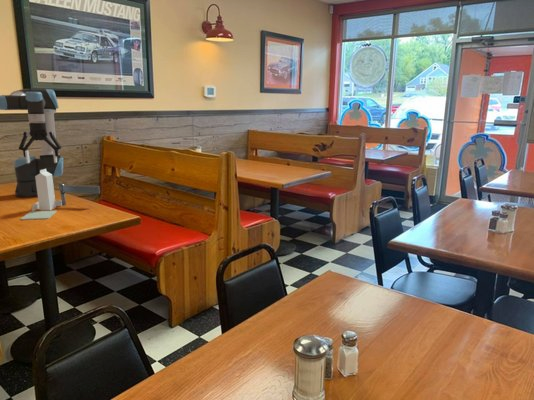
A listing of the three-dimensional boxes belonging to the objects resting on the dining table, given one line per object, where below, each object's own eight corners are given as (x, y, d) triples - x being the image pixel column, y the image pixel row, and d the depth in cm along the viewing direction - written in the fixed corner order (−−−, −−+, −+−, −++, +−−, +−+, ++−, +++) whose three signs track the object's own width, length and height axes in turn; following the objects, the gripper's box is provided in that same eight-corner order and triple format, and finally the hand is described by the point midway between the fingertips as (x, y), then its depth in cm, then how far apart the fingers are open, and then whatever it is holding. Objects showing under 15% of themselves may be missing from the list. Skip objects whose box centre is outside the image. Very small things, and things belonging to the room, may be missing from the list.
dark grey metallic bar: (59, 193, 231) (58, 184, 230) (61, 192, 234) (60, 183, 232) (98, 194, 229) (97, 186, 228) (100, 193, 232) (99, 185, 230)
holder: (40, 205, 233) (39, 193, 231) (66, 204, 235) (65, 192, 233) (32, 211, 220) (30, 199, 218) (58, 210, 222) (57, 198, 221)
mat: (30, 212, 218) (30, 211, 218) (56, 211, 220) (56, 210, 220) (20, 219, 206) (20, 218, 206) (48, 218, 208) (48, 217, 208)
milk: (39, 210, 223) (33, 170, 217) (45, 207, 228) (40, 168, 223) (50, 210, 222) (45, 170, 217) (56, 207, 228) (51, 168, 223)
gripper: (7, 122, 208) (13, 164, 213) (60, 122, 212) (65, 163, 217) (14, 121, 215) (19, 162, 220) (65, 121, 219) (69, 161, 224)
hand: (42, 162), depth 219 cm, fingers open, 13 cm apart
